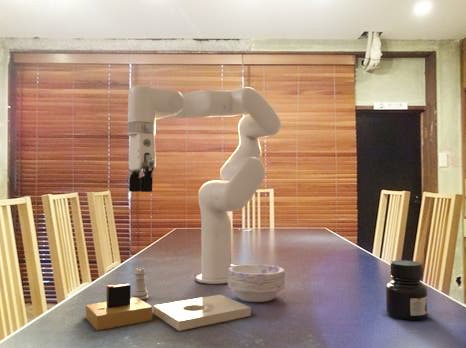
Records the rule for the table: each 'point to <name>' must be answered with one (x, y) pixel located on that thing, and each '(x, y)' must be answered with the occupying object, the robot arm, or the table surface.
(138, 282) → the rook chess piece
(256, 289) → the paper bowls
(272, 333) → the table surface
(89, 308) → the orange dial base
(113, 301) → the black battery pack
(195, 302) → the white socket plate
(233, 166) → the robot arm
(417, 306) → the ink bottle
